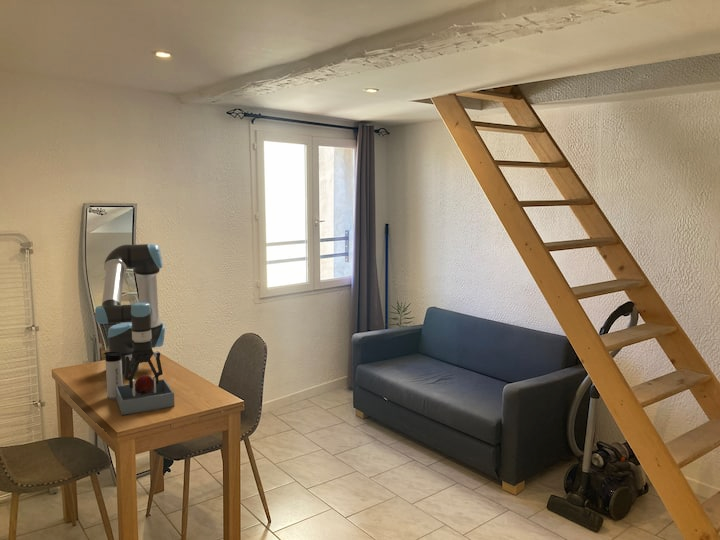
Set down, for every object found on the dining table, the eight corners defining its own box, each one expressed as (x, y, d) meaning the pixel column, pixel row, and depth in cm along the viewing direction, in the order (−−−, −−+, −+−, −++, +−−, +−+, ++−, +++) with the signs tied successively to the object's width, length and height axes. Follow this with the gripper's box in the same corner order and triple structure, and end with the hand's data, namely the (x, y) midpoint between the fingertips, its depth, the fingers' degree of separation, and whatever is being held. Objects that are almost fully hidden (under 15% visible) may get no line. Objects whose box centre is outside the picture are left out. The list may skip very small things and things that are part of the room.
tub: (116, 400, 236) (115, 386, 235) (164, 392, 246) (164, 379, 245) (122, 415, 218) (121, 401, 218) (174, 406, 228) (173, 392, 228)
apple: (158, 391, 234) (157, 373, 233) (145, 398, 227) (144, 379, 226) (143, 390, 236) (142, 371, 235) (130, 396, 229) (129, 377, 228)
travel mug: (109, 394, 242) (107, 350, 239) (125, 394, 242) (123, 350, 240) (104, 399, 236) (102, 354, 233) (120, 399, 236) (118, 354, 234)
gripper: (116, 345, 220) (119, 400, 223) (169, 339, 230) (171, 392, 233) (114, 341, 227) (117, 394, 229) (165, 335, 237) (167, 386, 240)
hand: (144, 393), depth 231 cm, fingers closed on apple, 7 cm apart
